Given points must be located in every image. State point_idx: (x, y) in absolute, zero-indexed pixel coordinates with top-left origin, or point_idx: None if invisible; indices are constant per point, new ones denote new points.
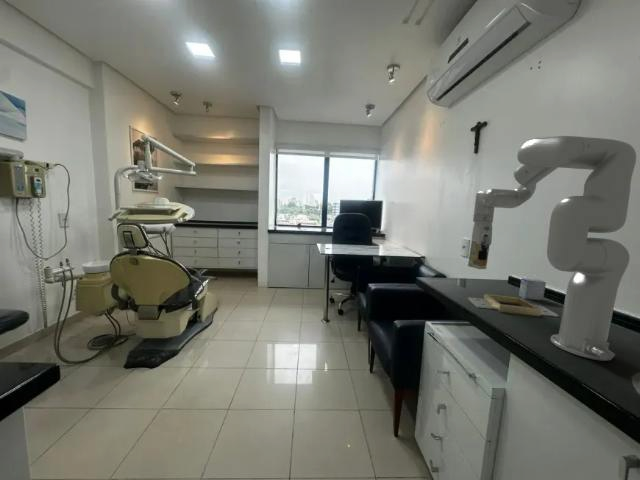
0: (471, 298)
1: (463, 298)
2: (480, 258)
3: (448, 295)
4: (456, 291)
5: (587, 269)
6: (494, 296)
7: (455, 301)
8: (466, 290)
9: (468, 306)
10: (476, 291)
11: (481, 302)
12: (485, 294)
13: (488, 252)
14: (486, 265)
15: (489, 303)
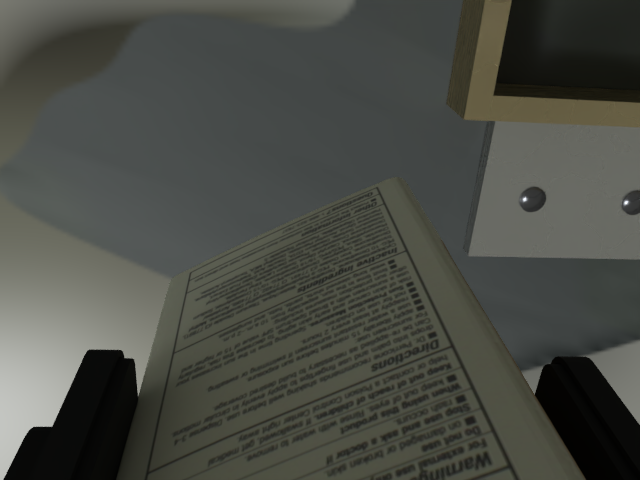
0: (499, 240)
1: None
2: None
3: None
4: None
5: None
6: (504, 24)
7: (538, 357)
8: (158, 155)
9: (637, 304)
10: (148, 47)
11: (596, 197)
12: (481, 116)
13: (540, 407)
14: (421, 208)
15: (616, 135)
